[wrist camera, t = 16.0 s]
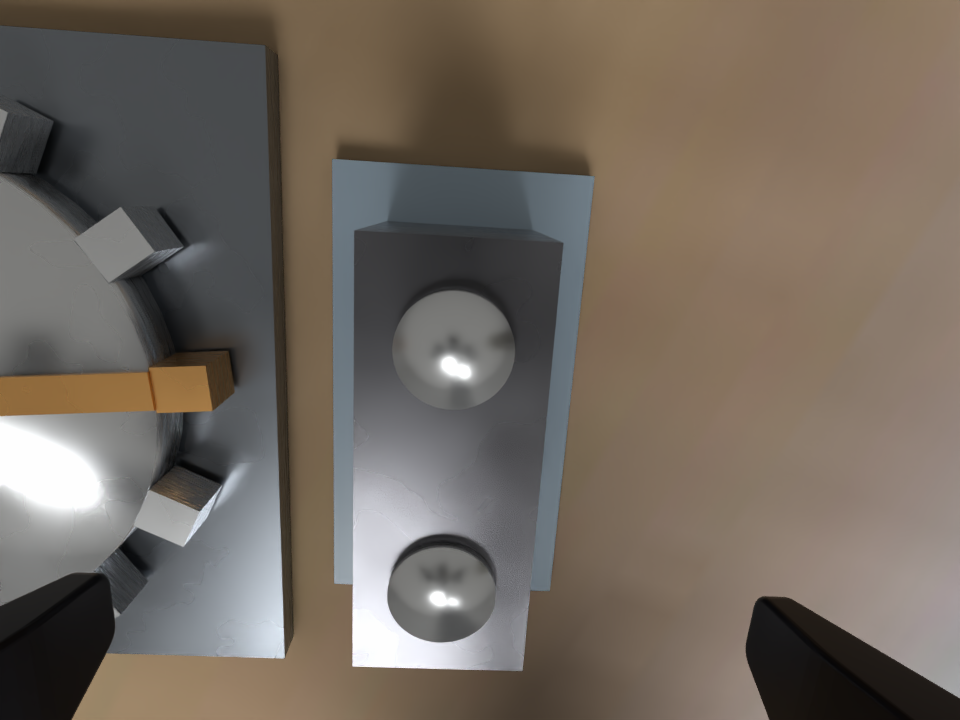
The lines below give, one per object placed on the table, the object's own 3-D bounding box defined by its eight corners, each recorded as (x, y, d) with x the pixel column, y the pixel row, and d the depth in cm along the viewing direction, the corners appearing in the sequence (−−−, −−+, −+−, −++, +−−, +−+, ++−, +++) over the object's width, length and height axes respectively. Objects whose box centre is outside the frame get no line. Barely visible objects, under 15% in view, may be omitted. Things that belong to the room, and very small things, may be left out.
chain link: (534, 229, 16) (567, 244, 11) (507, 549, 19) (524, 680, 14) (386, 220, 16) (350, 230, 11) (380, 544, 18) (349, 676, 13)
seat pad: (590, 176, 16) (594, 176, 16) (547, 581, 20) (549, 591, 19) (336, 160, 16) (332, 158, 15) (337, 574, 19) (334, 583, 19)
